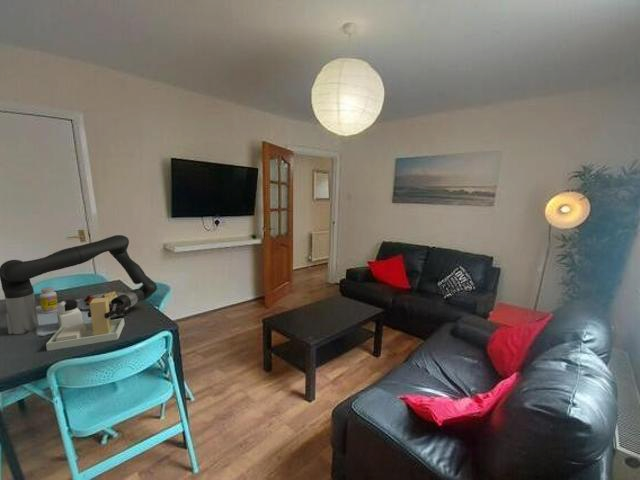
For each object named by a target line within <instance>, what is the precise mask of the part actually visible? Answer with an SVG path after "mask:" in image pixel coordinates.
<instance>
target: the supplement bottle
mask: <svg viewBox="0 0 640 480" xmlns="http://www.w3.org/2000/svg"><path fill="white" fill-rule="evenodd" d="M40 291H41V293H40V294H39V303H40V310H41V313H43V314H51V313H55V312H58V310H59V303H58V295H57V292H56V291H54V287H53V286H48V287H47V286H46V287H43V288H40Z"/></svg>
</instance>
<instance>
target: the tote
mask: <svg viewBox="0 0 640 480" xmlns="http://www.w3.org/2000/svg"><path fill="white" fill-rule="evenodd" d="M125 324H126V323H125V318H122V317H121V318H117V319H116V318H115V319H111V330H110V332H109V333H106V334H100V335H94V334H93V326H92V322H85V325H86V333H85V334H84V336H83V337H82V338H76V339H70V340H63V341H57V342H56V337H57V336H58V335H59V334H60V333H61V331H62V330H63V329H64V328H65V327H66V326H63V327H59V329H58V330H56V332H55V333H54V334H53V335H52V336H51V337H50V339H49V340H48V341H47V342H46V344H45V347H46V351H47V352H48V351H54V350H61V349H68V348H72V347H78V346H79V347H80V346H85V345H91V344H92V345H93V344H98V343H105V342H111V341H117V340H119V338H120V335H121V334H122V330H123V328H124V326H125Z"/></svg>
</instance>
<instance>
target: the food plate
mask: <svg viewBox="0 0 640 480" xmlns="http://www.w3.org/2000/svg"><path fill="white" fill-rule="evenodd" d="M124 293H125V292H119V291H115V290H112V291H110V292H109V291H108V292H102V293H101V292H100V293H95V294H91V295H87V296H85V297H84V298H82V299H80V300H78V301H77V306H78V309H79V310H90V302H91V301H92V300H93V299H97V298H106V297H108V301H109V303H111V301H112V300H113V299H114V298H116V297H118V296H120V295H122V294H124Z"/></svg>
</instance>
